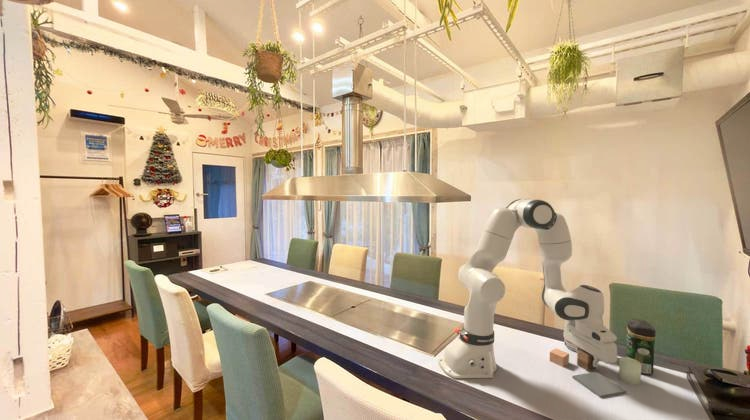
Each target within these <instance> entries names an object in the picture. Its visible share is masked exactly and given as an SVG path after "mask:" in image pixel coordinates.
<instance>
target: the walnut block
mask: <svg viewBox="0 0 750 420" xmlns="http://www.w3.org/2000/svg"><path fill="white" fill-rule="evenodd" d="M576 359H577V360H576V365H577V366H579V367H580V368H582V369H584V370H585V371H586V372H590V371H596V370H598V366H597V367H593V366H592V365H591V361H593V360H594V358H593V355H591V354H590V353H588V352H586V351H584V350H583V349H581V350H578V357H577V356H576Z"/></svg>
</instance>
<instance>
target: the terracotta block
mask: <svg viewBox="0 0 750 420" xmlns="http://www.w3.org/2000/svg"><path fill="white" fill-rule="evenodd" d="M549 362H551V363H553V364H555V365H558V366H560V367H561V368H562V367H563V368H564V367H565V366H567V365H568V364H569V363H570V353H568V352H566V351H564V350H561V349H559V348H557V347H556V348H554V349H552V350H550V351H549Z"/></svg>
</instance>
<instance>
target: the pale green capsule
mask: <svg viewBox="0 0 750 420" xmlns="http://www.w3.org/2000/svg"><path fill="white" fill-rule="evenodd" d="M618 368H619V370H618V378H619V380H620V381H622V382H624V383H626V384H628V385H631V386H640V385H641V381H642V380H641V375H642V374H641V363H640V362H639V361H637V360H635V359H632V358H628V357H626V356H621V357H620V358H619V367H618Z"/></svg>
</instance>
